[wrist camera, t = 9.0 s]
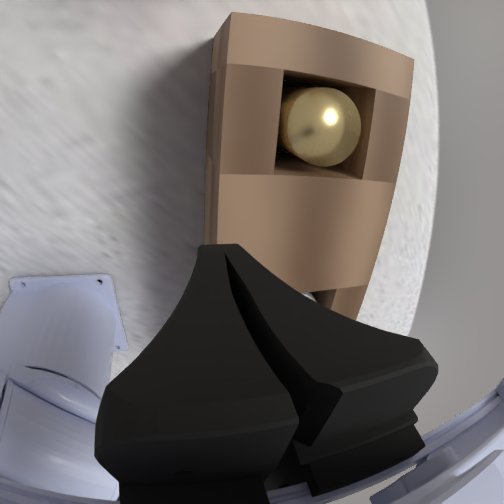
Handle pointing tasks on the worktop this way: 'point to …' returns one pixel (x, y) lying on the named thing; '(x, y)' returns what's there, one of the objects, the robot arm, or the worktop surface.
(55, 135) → the worktop surface
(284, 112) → the brass peg
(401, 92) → the walnut peg board
